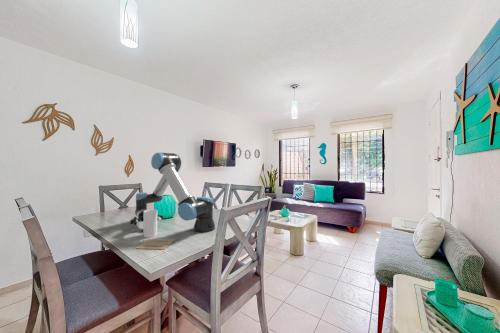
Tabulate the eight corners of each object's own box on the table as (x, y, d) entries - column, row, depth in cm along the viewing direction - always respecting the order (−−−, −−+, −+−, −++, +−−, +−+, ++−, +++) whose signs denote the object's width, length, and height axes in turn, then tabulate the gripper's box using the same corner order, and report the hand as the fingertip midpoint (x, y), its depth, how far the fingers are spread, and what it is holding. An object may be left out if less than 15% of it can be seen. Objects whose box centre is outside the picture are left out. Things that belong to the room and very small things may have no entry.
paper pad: (174, 240, 121) (174, 239, 121) (164, 249, 108) (164, 248, 108) (148, 239, 122) (148, 238, 122) (136, 248, 109) (136, 247, 109)
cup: (146, 233, 133) (146, 209, 133) (159, 232, 134) (159, 209, 133) (141, 237, 125) (141, 212, 124) (154, 237, 125) (154, 212, 125)
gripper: (161, 217, 153) (169, 224, 137) (123, 223, 138) (127, 232, 121) (161, 208, 153) (169, 214, 137) (123, 212, 138) (127, 220, 121)
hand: (150, 222), depth 129 cm, fingers open, 13 cm apart
